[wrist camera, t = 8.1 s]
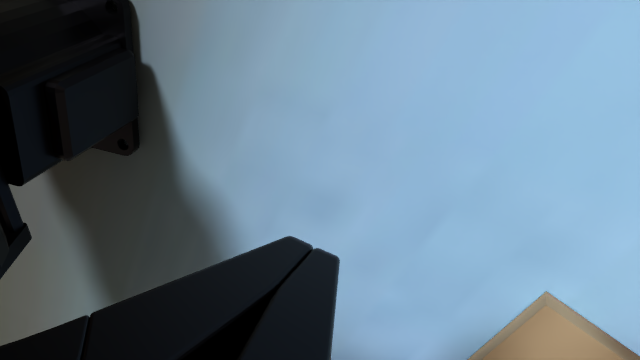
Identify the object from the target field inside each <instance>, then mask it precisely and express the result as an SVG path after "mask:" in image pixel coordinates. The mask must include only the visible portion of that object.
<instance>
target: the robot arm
mask: <svg viewBox="0 0 640 360" xmlns="http://www.w3.org/2000/svg"><path fill="white" fill-rule="evenodd" d="M112 1H113V2H115V4H116V5H117V8H118V9H117V11H115V10H114V8H113V6H112ZM138 114H139V113H138V99H137V84H136V70H135V57H134V55H133V45H132V30H131V16H130V6H129V2H128V0H0V279H1V278H2V276H3V275H4V274H5V272H6V271H7V270H8V268H9V267H10V266H11V265H12V263H13V262H14V261H15V259H16V258H17V257H18V256H19V254H20V253H21V252H22V250H23V249H24V248H25V246H26V245H27V244H28V243H29V241H30V240H31V238H32V236H31V234H30V231H29V229H28V226H27V224H26V223H23V221H22V219H21V216H20V214H19V211H18V208H17V206H16V203H15V201H14V198H13V195H12V193H11V190H10V187H9V185H8V184H12V185H15V186H22V185H24V184H26V183H27V182H29V181H30V180H32V179H34V178H35V177H37V176H38V175H40V174H42V173H43V172H45V171H46V170H48V169H50V168H51V167H53V166H54V165H56V164H58V163H59V162H61V161H62V160H66V161H69V160H72V159H73V158H75V157H76V156H78V155H80V154H81V153H83V152H84V151H86V150H88V149H89V148H91V147H92V148H96V149H100V150H104V151H108V152H112V153H116V154H120V155H124V156H128V155H131V154H132V153H134V152H135V151H136V150H137V149H138V148H139V130H138ZM123 139H124V140H126V142H127V143H128V145H126V144H125V143H124V140H123ZM339 263H340V260H339V258H338V257H337V256H335V255H333V254H331V253H329V252H326V251H324V250H322V249H319V248H316V249H313V247H312V245H310V244H308V243H306V242H304V241H302V240H299V239H297V238H295V237H292V236H287V237H284V238H282V239H279V240H277V241H274V242H271V243H269V244H266V245H264V246H261V247H259V248H256V249H254V250H251V251H249V252H246V253H243V254H241V255H238V256H236V257H233V258H231V259H228V260H226V261H223V262H221V263H218V264H215V265H213V266H210V267H208V268H205V269H203V270H200V271H198V272H195V273H192V274H190V275H187V276H185V277H182V278H180V279H177V280H175V281H172V282H170V283H167V284H164V285H162V286H159V287H157V288H154V289H152V290H149V291H147V292H144V293H142V294H139V295H136V296H134V297H131V298H129V299H126V300H124V301H121V302H119V303H116V304H113V305H111V306H108V307H106V308H103V309H101V310H98V311H96V312H93V313H92V314H91V315H90V317H89V316H87V315H85V316H82V317H80V318H77V319H75V320H72V321H70V322H67V323H64V324H62V325H59V326H57V327H54V328H51V329H48V330H46V331H43V332H40V333H37V334H35V335H32V336H29V337H26V338H24V339H21V340H18V341H15V342H12V343H8V344H5V345H2V346H0V360H331V349H332V338H333V328H334V317H335V306H336V296H337V285H338V274H339Z"/></svg>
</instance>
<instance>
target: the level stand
mask: <svg viewBox="0 0 640 360" xmlns="http://www.w3.org/2000/svg"><path fill="white" fill-rule="evenodd" d="M467 360H640V356H638V355H637V354H635V353H634V352H632V351H631V350H630V349H628V348H627V347H625V346H624V345H622V344H621V343H620V342H618V341H617V340H615V339H614V338H612V337H611V336H610V335H608V334H607V333H605V332H604V331H602V330H601V329H600V328H598V327H597V326H595V325H594V324H592V323H591V322H590V321H588V320H587V319H585V318H584V317H582V316H581V315H580V314H578V313H577V312H575V311H574V310H572V309H571V308H569V307H568V306H567V305H565V304H564V303H562V302H561V301H559V300H558V299H557V298H555V297H554V296H552V295H551V294H549V293H548V292H547V291H546V292H545V293H544V294H543V295H542V296H540V297H539V298H538V299H537V300H536V301H535V302H533V303H532V304H531V305H530V306H529V307H528V308H526V309H525V310H524V311H523V312H522V313H521V314H520V315H518V316H517V317H516V318H515V319H514V320H513V321H511V322H510V323H509V324H508V325H507V326H506V327H504V328H503V329H502V330H501V331H500V332H499V333H498V334H496V335H495V336H494V337H493V338H492V339H491V340H489V341H488V342H487V343H486V344H485V345H484V346H482V347H481V348H480V349H479V350H478V351H477V352H476V353H474V354H473V355H472V356H471V357H470V358H469V359H467Z"/></svg>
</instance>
